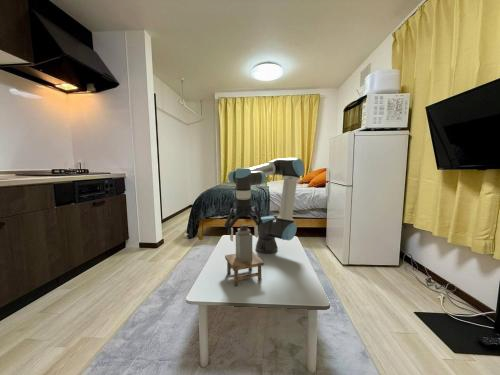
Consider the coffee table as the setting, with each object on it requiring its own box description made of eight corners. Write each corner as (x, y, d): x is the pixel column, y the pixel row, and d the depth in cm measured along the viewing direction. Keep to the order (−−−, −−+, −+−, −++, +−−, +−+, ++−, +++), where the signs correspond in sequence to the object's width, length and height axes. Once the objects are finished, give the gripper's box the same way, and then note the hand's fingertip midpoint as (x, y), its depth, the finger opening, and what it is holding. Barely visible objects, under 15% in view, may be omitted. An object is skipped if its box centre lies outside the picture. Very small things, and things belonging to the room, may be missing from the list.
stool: (252, 267, 126) (252, 251, 125) (264, 281, 112) (264, 262, 111) (225, 272, 120) (224, 255, 120) (234, 287, 106) (233, 267, 105)
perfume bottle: (235, 257, 117) (235, 224, 115) (247, 255, 119) (247, 223, 118) (240, 262, 111) (239, 227, 109) (252, 260, 113) (252, 226, 111)
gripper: (262, 195, 120) (262, 233, 122) (217, 198, 111) (218, 239, 113) (268, 197, 113) (268, 237, 115) (221, 201, 104) (222, 244, 106)
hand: (244, 238), depth 114 cm, fingers open, 13 cm apart
